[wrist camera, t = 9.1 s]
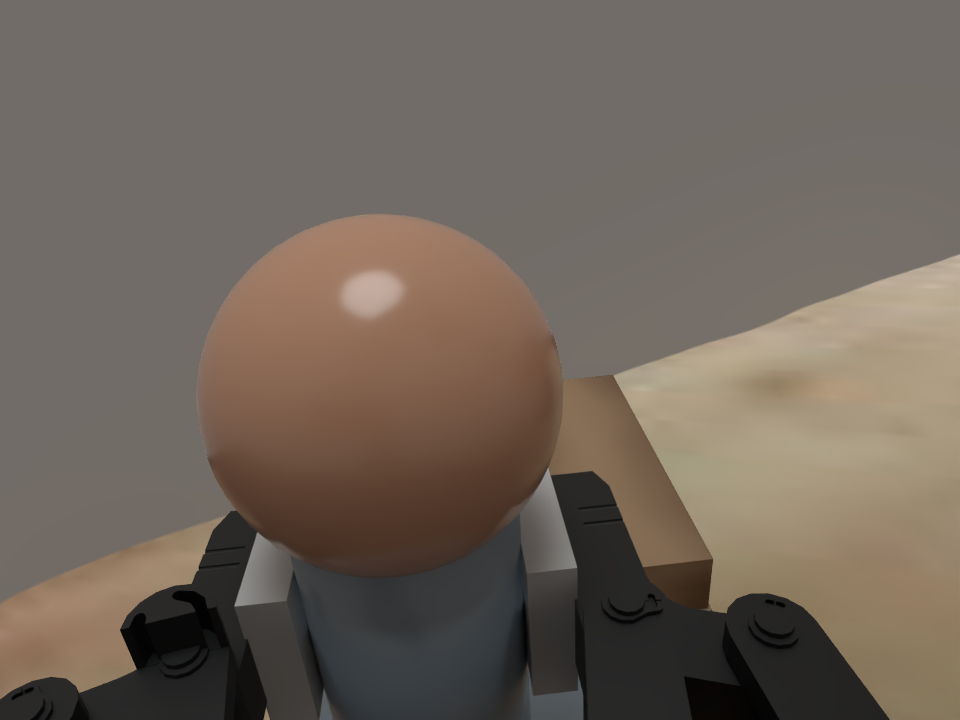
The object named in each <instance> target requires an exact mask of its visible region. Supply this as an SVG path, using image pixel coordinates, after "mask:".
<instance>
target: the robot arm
mask: <svg viewBox="0 0 960 720" xmlns="http://www.w3.org/2000/svg"><path fill="white" fill-rule="evenodd" d="M520 524H521V556H522V574H523V593H524V611H525V629H526V647H527V662H528V668H529V674H530V680H531V686H532V691H533V696H537V695H545V694H553V693H562V692H570V691H578V676H579V680H580V684H581V688H582V692H583V720H890V719H889V718H888V717H887V715H886V714H885V713H884V711H883V710H882V708H881V707H880V706H879V704H878V703H877V702H876V700H875V699H874V698H873V696H872V695H871V694H870V692H869V691H868V690H867V688H866V687H865V686H864V684H863V683H862V682H861V680H860V679H859V678H858V676H857V675H856V674H855V672H854V671H853V669H852V668H851V667H850V665H849V664H848V663H847V661H846V660H845V659H844V657H843V656H842V655H841V653H840V652H839V651H838V649H837V648H836V647H835V645H834V644H833V643H832V641H831V640H830V639H829V637H828V636H827V635H826V633H825V632H824V630H823V629H822V628H821V626H820V625H819V624H818V622H817V621H816V620H815V619H814V618H813V617H812V616H811V615H810V614H809V613H808V612H807V611H806V610H805V609H804V608H803V607H801V606H799V605H797V604H796V603H794V602H792V601H790V600H788V599H787V598H783V597H779V596H776V595H772V594H768V593H766V594H748V595H746V596H743V597H740V598H737V599H736V600H735V601H734V602H733V603H732V604H731V605H730V606H729V607H728V610H727V614H726V613H720V612H713V611H706V610H700V609H695V608H690V607H686V606H683V605H680V604H678V603H676V602H673V601H671V600H669V599H668V598H666V596H665V594H664V593H663V592H662V591H661V590H659V589H658V588H657V587H656V586H655V585H654V584H653V583H651V582H650V581H649V579H648V578H647V576H646V574H645V571H644V569H643V566H642V564H641V561H640V559H639V557H638V554H637V552H636V549H635V547H634V544H633V542H632V539H631V537H630V535H629V532H628V530H627V527H626V525H625V522H623V518H622V515H621V513H620V510H619V508H618V507H617V503H616V501H615V498H614V496H613V493H612V491H611V488H610V486H609V485H608V484H607V483H606V482H605V481H604V480H602V479H601V478H600V477H599V476H598V475H597V474H596V473H594V472H593V471H587V472H578V473H568V474H559V475H550V472H549V469H547V471H546V473H545V475H544V477H543V479H542V481H541V483H540V485H539V486H538V488H537V490H536V491H535V493H534V495H533V496H532V498H531V499H530V500H529V502H528V503H527V505H526V506H525V507H524V509H523V510H522V511H521V512H520ZM120 631H121V633H122V636H123V638H124V640H125V643H126V645H127V647H128V650H129V652H130V654H131V657H132V659H133V661H134V664H135V666H136V668H137V670H135V671H133V672H131V673H129V674H127V675H125V676H123V677H121V678H118V679H116V680H113V681H110V682H108V683H105V684H102V685H100V686H97V687H94V688H92V689H89V690H86V691H84V692H81V693H79V692H78V690H77V688H76V686H75V685H74V684H72V683H71V682H70V681H69V680H67V679H64V678H56V677H49V678H44V679H39V680H35V681H31V682H29V683H27V684H25V685H23V686H21V687H19V688H17V689H15V690H12V691H11V692H10V693H8V694H7V695H6V696H4V697H3V698H2V699H0V720H263V719H264V714H265V710H266V708H267V711H268V714H269V717H270V720H319V719H320V712H321V705H322V698H323V691H324V685H323V681H322V678H321V674H320V670H319V666H318V662H317V658H316V654H315V650H314V646H313V642H312V639H311V635H310V631H309V627H308V623H307V619H306V615H305V611H304V607H303V603H302V600H301V596H300V592H299V588H298V584H297V580H296V576H295V572H294V568H293V564H292V561H291V557H290V555H289V554H287V553H285V552H283V551H282V550H280V549H278V548H277V547H275V546H274V545H273V544H271V543H270V542H269V541H268V540H266V539H265V538H264V537H262V536H261V535H260V534H259V533H258V532H257V531H255V530H254V529H253V528H252V527H251V526H250V525H249V524H248V523H247V522H246V521H245V520H244V519H243V517H242V516H241V515H240V514H239V513H238V512H237V511H231V512H230V513H229V514H228V515H227V516H226V517H225V518H224V519H223V520H222V521H221V522H220V524H219V525H218V526H217V527H216V528H215V529H214V530H213V532H212V534H211V537H210V540H209V542H208V545H207V547H206V550H205V554H204V555H203V557H202V560H201V562H200V565H199V571H197V572H196V575H195V577H194V580H193V582H192V584H187V585H177V586H173V587H170V588H167V589H164V590H161V591H159V592H156V593H155V594H153V595H151V596H150V597H148V598H147V599H145V600H143V601H142V602H140V603H139V604H138V605H137V606H136V607H135V608H134V609H133V610H132V611H131V612H130V613H129V614H128V615H127V617H126V619H125V621H124V623H123V625H122V627H121V629H120Z"/></svg>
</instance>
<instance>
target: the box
mask: <svg viewBox="0 0 960 720" xmlns="http://www.w3.org/2000/svg"><path fill="white" fill-rule="evenodd" d="M548 469H549V472H550V475H559V474H568V473H578V472H587V471H593V472H594V473H596V474H597V475H598V476H599V477H600V478H601V479H602V480H604V481H605V482H606V483H607V484H608V485H609V486H610V488H611V491H612V493H613V496H614V498H615V501H616V503H617V507H618V508H619V510H620V513H621V515H622V518H623V522H625V525H626V527H627V530H628V532H629V535H630V537H631V539H632V542H633V544H634V547H635V549H636V552H637V554H638V557H639V559H640V561H641V564H642V566H643V569H644V571H645V574H646V576H647V578H648V579H649V581H650V582H651V583H653V584H654V585H655V586H656V587H657V588H658V589H659V590H661V591H662V592H663V593H664V594H665V596H666V598H668V599H669V600H671V601H673V602H676V603H678V604H680V605H683V606H686V607H690V608H695V609H700V610H706V611H712V609H711V607H710V605H709V603H708V601H709V592H710V583H711V573H712V564H713V558H712V556H711V554H710V552H709V551H708V549H707V547H706V545H705V543H704V541H703V540H702V538H701V536H700V534H699V532H698V530H697V529H696V527H695V525H694V523H693V521H692V519H691V518H690V516H689V514H688V512H687V510H686V508H685V507H684V505H683V503H682V501H681V499H680V497H679V496H678V494H677V492H676V490H675V488H674V486H673V485H672V483H671V481H670V479H669V477H668V475H667V474H666V472H665V470H664V468H663V466H662V464H661V463H660V461H659V459H658V457H657V455H656V453H655V452H654V450H653V448H652V446H651V444H650V442H649V441H648V439H647V437H646V435H645V433H644V431H643V430H642V428H641V426H640V424H639V422H638V420H637V419H636V417H635V415H634V413H633V411H632V409H631V408H630V406H629V404H628V402H627V400H626V398H625V397H624V395H623V393H622V391H621V389H620V387H619V386H618V384H617V382H616V380H615V378H614V376H613V375H607V376H597V377H588V378H579V379H570V380H563V411H562V422H561V426H560V431H559V436H558V440H557V444H556V448H555V451H554V454H553V457H552V459H551V462H550V464H549V467H548Z"/></svg>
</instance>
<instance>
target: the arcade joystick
mask: <svg viewBox="0 0 960 720" xmlns="http://www.w3.org/2000/svg"><path fill="white" fill-rule="evenodd" d="M196 398H197V416H198V425H199V430H200V435H201V439H202V444H203V448H204V451H205V453H206V456H207V459H208V461H209V464H210V466H211V469H212V471H213V473H214V476H215V478H216V480H217V482H218V484H219V486H220V487H221V489H222V490H223V492H224V494H225V495H226V497H227V499H228V500H229V501H230V503H231V504H232V505H233V507H234V508H235V509H236V511H237V512H238V513H239V514H240V515H241V516H242V517H243V519H244V520H245V521H246V522H247V523H248V524H249V525H250V526H251V527H252V528H253V529H254V530H255V531H257V532H258V533H259V534H260V535H261V536H262V537H264V538H265V539H266V540H268V541H269V542H270V543H271V544H273V545H274V546H275V547H277V548H278V549H280V550H282V551H283V552H285V553H287V554H289V555H290V557H291V561H292V564H293V568H294V572H295V576H296V580H297V584H298V588H299V592H300V596H301V600H302V603H303V607H304V611H305V615H306V619H307V623H308V627H309V631H310V635H311V639H312V642H313V646H314V650H315V654H316V658H317V662H318V666H319V670H320V674H321V678H322V681H323V685H324V691H323V698H322V705H321V712H320V719H319V720H583V692H582V688H581V684H580V680H579V676H578V691H570V692H562V693H553V694H545V695H537V696H533V691H532V686H531V680H530V674H529V668H528V662H527V647H526V629H525V611H524V593H523V574H522V556H521V524H520V512H521V511H522V510H523V509H524V507H525V506H526V505H527V503H528V502H529V500H530V499H531V498H532V496H533V495H534V493H535V491H536V490H537V488H538V486H539V485H540V483H541V481H542V479H543V477H544V475H545V473H546V471H547V469H548V467H549V464H550V462H551V459H552V457H553V454H554V451H555V448H556V444H557V440H558V436H559V431H560V426H561V422H562V411H563V378H562V367H561V363H560V359H559V355H558V351H557V346H556V343H555V339H554V336H553V333H552V331H551V328H550V326H549V323H548V321H547V318H546V316H545V314H544V313H543V311H542V309H541V308H540V306H539V304H538V303H537V301H536V299H535V298H534V296H533V294H532V293H531V291H530V289H529V288H528V287H527V286H526V285H525V283H524V282H523V281H522V280H521V278H520V277H519V276H518V275H517V273H516V272H515V271H513V270H512V269H511V268H510V267H509V266H508V265H507V264H506V263H505V262H504V261H503V260H502V259H501V258H500V257H498V256H497V255H496V254H495V253H494V252H492V251H491V250H489V249H488V248H486V247H485V246H484V245H482V244H481V243H479V242H478V241H476V240H475V239H473V238H471V237H469V236H467V235H465V234H463V233H461V232H459V231H457V230H455V229H453V228H450V227H448V226H445V225H442V224H439V223H435V222H432V221H429V220H425V219H422V218H417V217H410V216H402V215H393V214H368V215H358V216H351V217H345V218H341V219H336V220H333V221H329V222H326V223H324V224H321V225H318V226H315V227H313V228H310V229H307V230H305V231H302V232H300V233H299V234H297V235H295V236H293V237H291V238H290V239H288V240H286V241H285V242H283V243H281V244H280V245H278V246H277V247H275V248H273V249H272V250H271V251H270V252H269V253H267V254H266V255H265V256H264V257H262V258H261V259H260V260H259V261H258V262H256V263H255V264H254V265H253V266H252V267H251V268H250V269H249V270H248V271H247V272H246V274H245V275H244V276H243V277H242V278H241V280H239V282H238V283H237V284H236V285H235V286H234V287H233V288H232V290H231V291H230V293H229V295H228V296H227V298H226V299H225V301H224V303H223V304H222V305H221V307H220V309H219V311H218V313H217V315H216V317H215V319H214V321H213V324H212V326H211V328H210V330H209V333H208V335H207V337H206V341H205V344H204V348H203V352H202V356H201V360H200V365H199V370H198V380H197V389H196Z"/></svg>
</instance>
